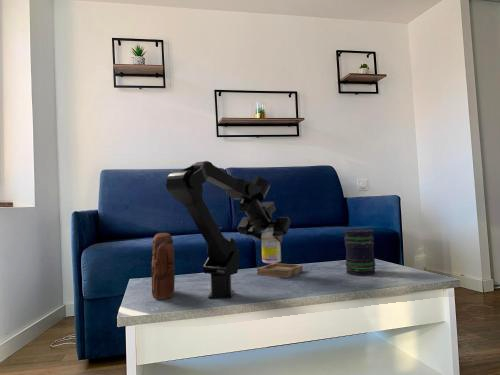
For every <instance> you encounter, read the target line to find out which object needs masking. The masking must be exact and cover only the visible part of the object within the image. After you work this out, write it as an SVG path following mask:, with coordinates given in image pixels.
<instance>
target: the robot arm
mask: <svg viewBox="0 0 500 375" xmlns="http://www.w3.org/2000/svg"><path fill="white" fill-rule="evenodd" d="M206 182H210V184H213V185H215V186H217V187H219V188H221V189H223V190H224V191H225V192H226V195H227V196H228V197H230V198H231V199H233V200H241V202H239V203H238V208H237V211H238V212H245V215H246V216H244V217H241V220H240V222H239V224H238V226H237V231H238V233H239V234H240V235H246V236H249V237H252V238H254V239H257V240H259V241H261V235H262V233H263V232H262V231H264V230H265V229H267V228H273V235H272V236H273V237H275V238H276V239H277V240H278V241H279V242H280V243H282V242H283V236H285V235H287V234H288V232H289V228H290V226H291V224H292V221H291V219H290V218H289V217H288V216H278V217H277V218H276V219H275V220H271V219H272V218H273V213H274V212H276V211H277V209H276V206H275V202H274V201H264V199H265V198H266V196H267V193H268V191H269V189H270V188H271V184H270V182H269V181H268V180H267V179H264V178H262V177H261V176H260V175H256V176H253V179H252V180H248V179H245V178H239V177H238V178H237V177H235V176H233V175H232V174H229V173H228V172H226V171H224V170H223V169H221V168H219V167H218V166H216V165H214V164H213V163H212V162H211V161H208V160H205V161H197V162H195V163H193V164H191V165H190V166H188V167H186V168H184V169H180V170H179V171H174V172H170V173H169V174H168V175H167V176H166V182H165V187H166V190H167V191H168V193H169V194H170V195H171V196H172V198H173V199H175V200H176V201H178V203H180V204H182V205H184V207H185V208H186V210H187V212H188V214H189V216H190V217H191V219H192V221H193V222H194V224H195V226H196V227H197V229H198V231H199V232H200V234H201V236H202V237H203V239H204V242H206V244H207V252H206V254H207V256H208V257H207V259H206V261H205V263H204V264H203V265H202V269H203V273H204V274H209V275H210V291H211V292H210V293H209V294H208V296H207V298H208V299H231V298H233V295H234V293H235V290H233V289H232V275H235V274H238V271H239V264H240V260H241V256H240V251H239V249H240V248H239V246H238V245H237V244H236V242H235V239H234V238H232V237H225V236H224V234H222V232H221V229H220V227H219V226H218V224H217V222H216V221H215V219H214V216H213V215H212V214H211V211H210V210H209V207H208V206H207V204H206V202H205V200H204V198H203V192H204V191H203V189H204V186H203V184H204V183H206ZM261 201H263V202H261Z"/></svg>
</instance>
